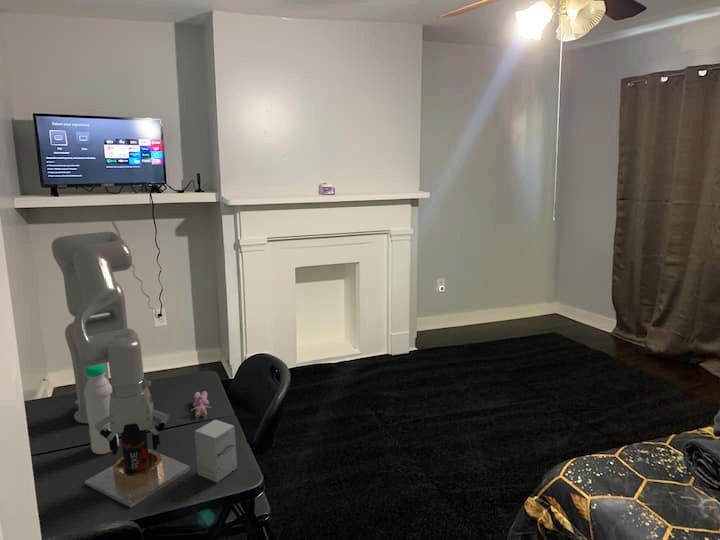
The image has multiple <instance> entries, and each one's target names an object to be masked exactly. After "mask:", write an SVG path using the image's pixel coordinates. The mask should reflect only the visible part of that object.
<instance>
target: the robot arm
mask: <svg viewBox="0 0 720 540" xmlns="http://www.w3.org/2000/svg"><path fill="white" fill-rule="evenodd" d="M51 252H52V256H53V258H54V260H55V262H56V264H57V265H58V267H59V269H60V271H61V273H62V276H63V282H64V290H65V292H64V293H65V299H66V305H67V309H68V312H69V314H70V316H72V317H74V319H73V321H72V322H71V323H69V324H68V325H67V326H66V328H65V331H64V337H65V340H66V343H67V346H68V350H69V353H70V356H71V363H72V369H73V376H74V382H75V389H76V390H75V391H76V395H77V399H76V400H75V401H74V403H75V404H76V405H78V410H77V411H76V412H75V413H74V421H75V422H77V423H81V424H89V423H88V418H87V411H86V398H85V396H84V390H85V388H86V386H87V382H88V380H89V378H88V377H87V375H86V368H87V367H88V366H95V365H99V364H103V365H104V366H105V374H104V377H105V378H106V379H107V380H108V382H109V383H110V382H111V383H110V385H111V386H112V392H111V394H110V401H109V416H107V417H105V418H104V419H102V420H100V421H99V422H97V423H96V425H95V428H96V429H97V430H98V431H99V432H100V434H101V435H102V436H103V437H105V438H107V441H109V446H110V451H112V456H116V455H117V453H118V451H119V446H118V442H117V436H116V434H117V435H118V434H121V433H123V430H124V425H131V424H137V425H138V427H139V430H146V431H147V430H148V431H150V432H151V433H152V435H151V437H152V438H151V439H152V440H151V441H152V448H153V449H152V450H153V451H155V450H157V449H158V446H159V445H161V439H160V437H161V436H160V433H161V431H162V430H164V429H165V427H166V424H167V423H168V421H169V413H165V412H161V411H159V410H156V409H154V403H153V399H152V398H153V397H152V394H151V392H150V389H149V387H151V386H152V382H151V380H147V379H145V378H146V377H145V374H144V364H143V357H142V348H141V343H140V342H141V340H140V337H139V334H138V333H136V331H135V330H134V329H132V328H128V320H127V319H128V318H127V317H128V316H127V308H126V297H125V294H124V293H125V292H124V290H123V287H122V285H120V283H118V282H116V279H115V277H114V274H113V273H116V272H124V271H128V270H129V269H130V268H132V267H131V266H132V265H133V257H132V253H131V251H130V248H129V246H128V244H127V243H126V242H125V240H124V239H123V238H121V237H120V236H119V235H118V234H117V233H115V232H113V231H102V232H99V231H98V232H92V233H80V234H79V233H78V234H70V235H64V236H59V237H57V238H55V239H54V240H53V241H52V242H51ZM102 314H105V315H102ZM96 315H99V316H96ZM100 315H101V316H100ZM93 316H94V317H93ZM108 366H109V368H108ZM155 419H159V420H161V421H160V422H159V424H157V423H156V422H155V421H156V420H155ZM109 422H110V429H111V431H109V430H108V429H106V428H104V425H105V424H107V423H109Z"/></svg>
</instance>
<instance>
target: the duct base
mask: <svg viewBox="0 0 720 540" xmlns="http://www.w3.org/2000/svg"><path fill="white" fill-rule="evenodd" d="M148 453H149V463H150V468H149V469H147V470H146V471H143V472H139V473H135V474H125V465H124V457H123V456H122V457H121V458H119V459H117V460H116V461H115V463H114V464H113V465H111V466H109V467H107V468H105V469H104V470H102V471H101V472H98V473H97V474H95V475H94V476H92V477H90V478H88V479H85V481H84V483H85V486H86V485H87V486H88V487H90V488H91V489H94V490H96V491H98V492H99V493H101V494H103V495H105V496H108V497H109V498H111V499H113V500H115V501H117V502H118V503H121V504H122V505H124V506H127V507H128V508H132V507H135V506H136V505H138V504H139V503H141V502H142V501H144V500H145V499H147V498H149V497H151V496H152V495H153V494H155V493H157V492H158V491H160V490H161V489H162V488H165V486H167V485H169V484H170V483H172V482H174V481H175V480H177V479H178V478H180V477H182V476H183V475H184V474H186V473H188V472H189V471H190V470H191V466H190V465H188V464H187V463H186V464H185V463H183V462H180V461H178V460H176V459H174V458H172V457H170V456H166V455H164V454H162V453H159V452H157V451H155V450H154V449H149V448H148Z"/></svg>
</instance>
